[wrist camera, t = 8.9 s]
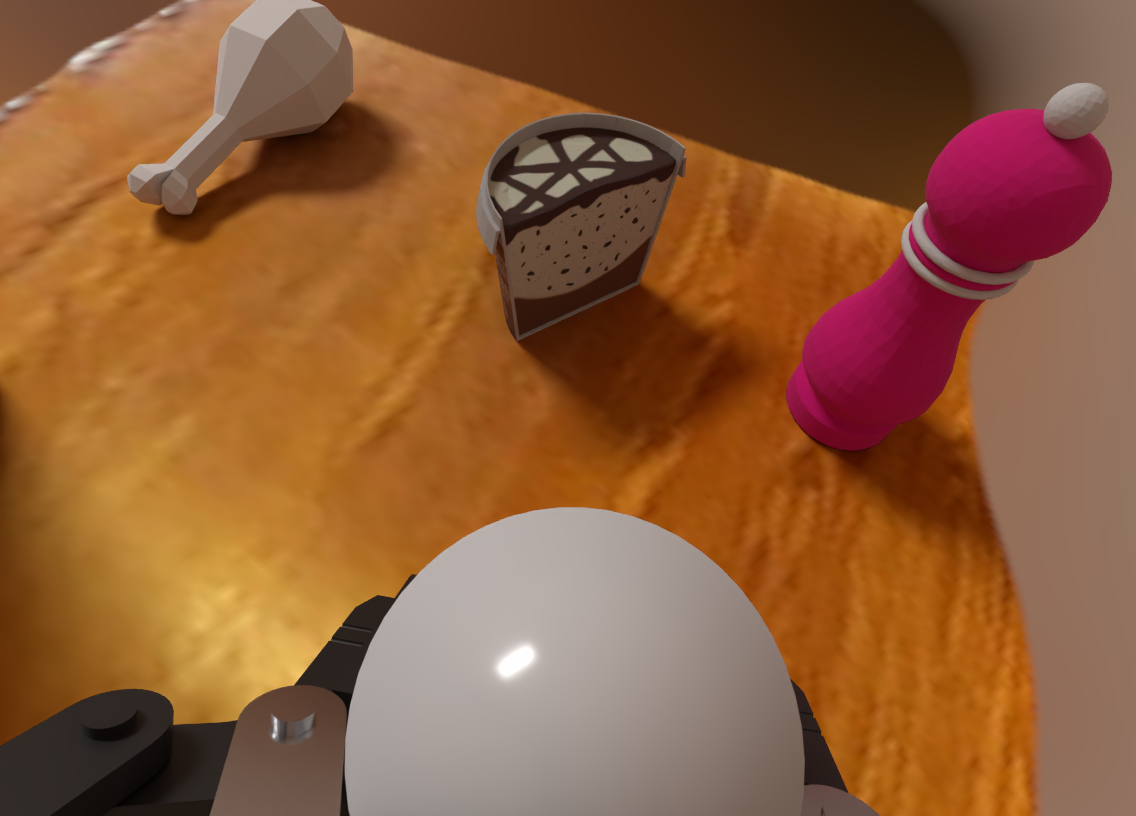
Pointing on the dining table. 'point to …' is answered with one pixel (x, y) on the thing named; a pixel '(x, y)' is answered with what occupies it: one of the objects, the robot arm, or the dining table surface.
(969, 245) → the pepper mill
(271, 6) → the chicken leg
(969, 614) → the dining table surface
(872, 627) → the dining table surface
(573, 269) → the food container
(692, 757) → the sugar shaker
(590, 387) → the dining table surface
